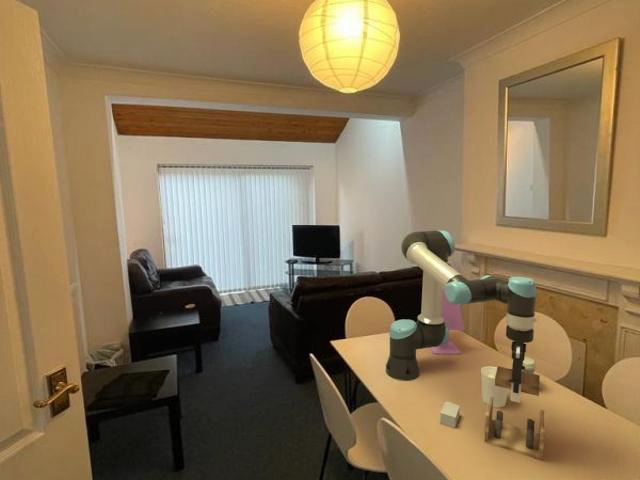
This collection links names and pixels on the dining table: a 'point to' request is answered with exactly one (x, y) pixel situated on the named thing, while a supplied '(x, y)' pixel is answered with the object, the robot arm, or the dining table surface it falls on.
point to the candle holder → (492, 387)
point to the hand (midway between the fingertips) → (516, 394)
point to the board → (528, 380)
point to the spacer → (450, 414)
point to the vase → (449, 325)
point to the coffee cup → (528, 365)
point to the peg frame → (514, 434)
